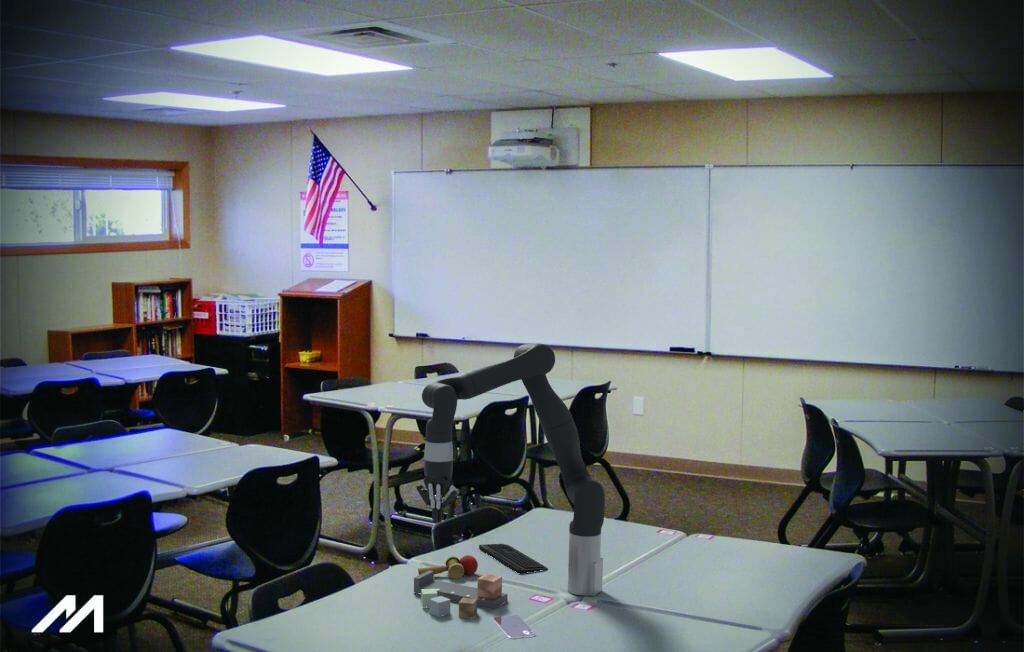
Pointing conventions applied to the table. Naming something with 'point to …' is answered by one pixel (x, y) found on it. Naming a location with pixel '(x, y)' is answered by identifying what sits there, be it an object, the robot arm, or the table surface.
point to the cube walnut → (467, 607)
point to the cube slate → (439, 606)
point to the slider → (489, 586)
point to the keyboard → (512, 558)
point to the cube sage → (427, 596)
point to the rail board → (455, 591)
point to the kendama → (455, 567)
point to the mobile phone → (513, 626)
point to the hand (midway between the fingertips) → (437, 521)
